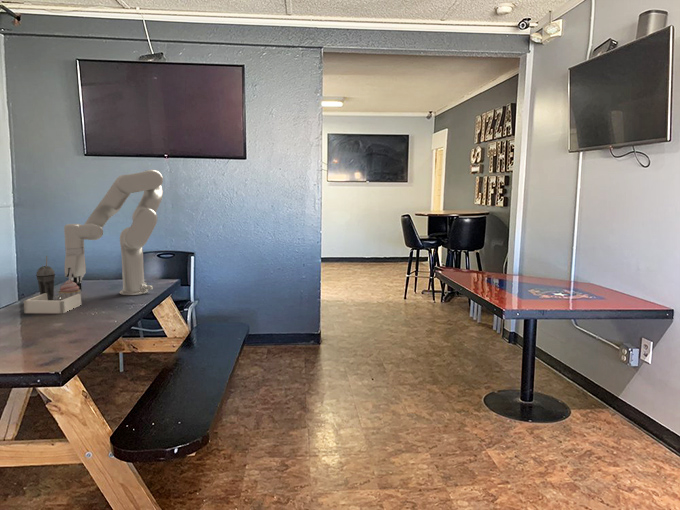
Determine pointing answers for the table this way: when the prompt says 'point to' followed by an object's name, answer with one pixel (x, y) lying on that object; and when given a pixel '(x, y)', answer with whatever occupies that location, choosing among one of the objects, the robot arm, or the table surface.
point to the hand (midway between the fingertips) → (77, 291)
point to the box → (51, 304)
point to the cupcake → (68, 290)
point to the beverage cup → (46, 280)
